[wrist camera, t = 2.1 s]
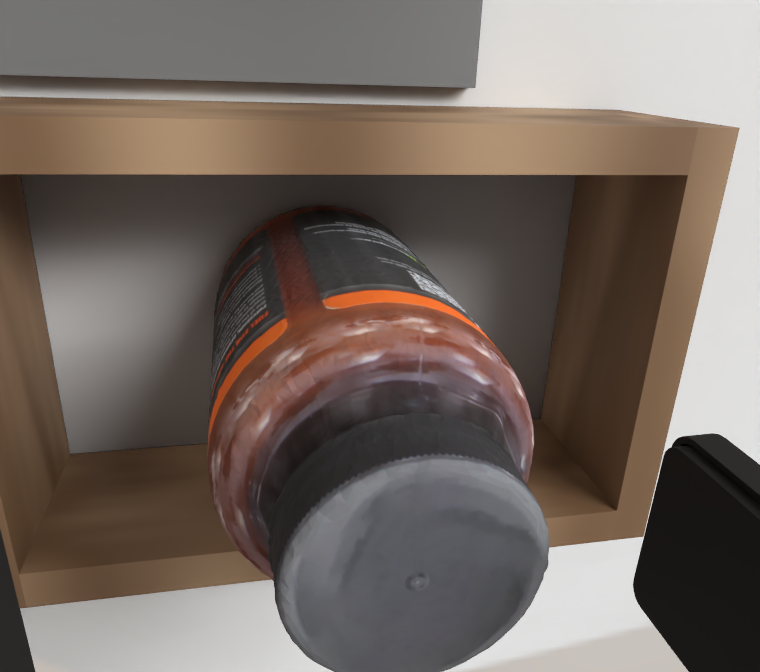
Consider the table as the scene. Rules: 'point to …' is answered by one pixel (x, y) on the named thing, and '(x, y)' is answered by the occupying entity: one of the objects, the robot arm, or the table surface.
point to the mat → (245, 40)
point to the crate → (360, 157)
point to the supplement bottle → (369, 449)
